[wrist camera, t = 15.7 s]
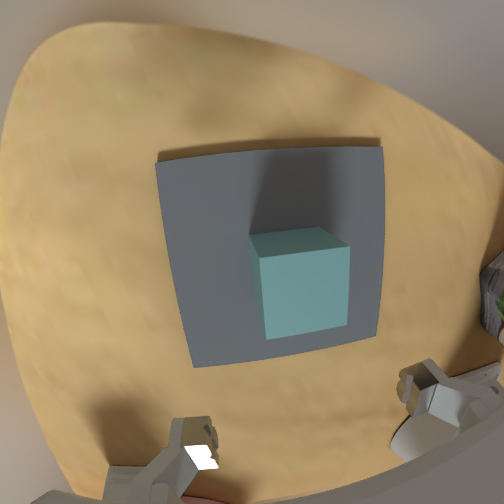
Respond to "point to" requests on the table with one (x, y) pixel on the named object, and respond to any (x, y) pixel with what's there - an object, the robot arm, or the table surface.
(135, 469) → the supplement box
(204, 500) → the cake
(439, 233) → the table surface
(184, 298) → the charcoal mat
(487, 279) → the juice carton
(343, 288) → the teal cube
